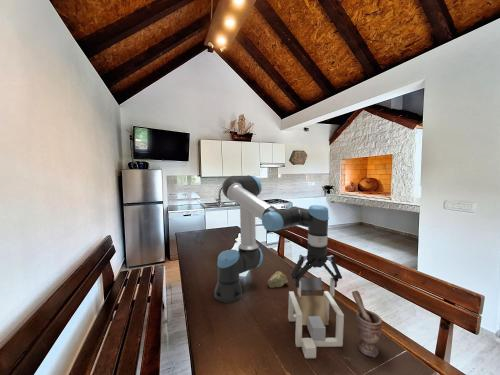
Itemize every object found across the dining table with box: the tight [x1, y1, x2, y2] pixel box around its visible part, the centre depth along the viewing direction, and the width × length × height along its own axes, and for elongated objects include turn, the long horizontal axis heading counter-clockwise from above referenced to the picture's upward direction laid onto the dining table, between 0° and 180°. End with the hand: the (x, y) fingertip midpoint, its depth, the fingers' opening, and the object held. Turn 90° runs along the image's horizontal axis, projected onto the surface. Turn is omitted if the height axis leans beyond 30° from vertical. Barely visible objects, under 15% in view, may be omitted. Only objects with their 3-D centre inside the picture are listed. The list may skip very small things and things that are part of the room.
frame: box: [287, 290, 345, 348], centre depth 91 cm, size 18×16×13 cm
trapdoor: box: [295, 277, 330, 326], centre depth 94 cm, size 13×18×4 cm
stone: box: [307, 316, 327, 340], centre depth 87 cm, size 5×5×7 cm
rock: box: [267, 270, 289, 289], centre depth 128 cm, size 12×9×10 cm
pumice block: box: [301, 339, 317, 359], centre depth 80 cm, size 4×4×4 cm
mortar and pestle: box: [351, 290, 383, 359], centre depth 83 cm, size 12×9×20 cm
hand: (315, 294), depth 88 cm, fingers open, 13 cm apart
